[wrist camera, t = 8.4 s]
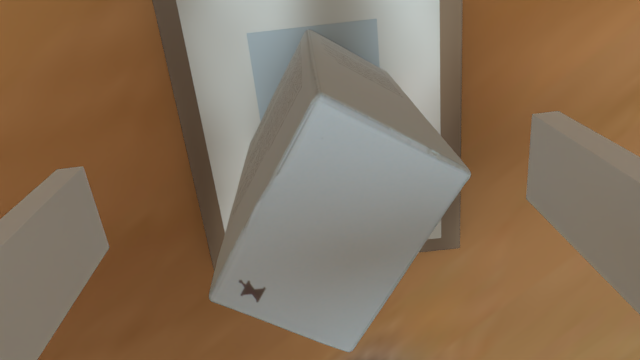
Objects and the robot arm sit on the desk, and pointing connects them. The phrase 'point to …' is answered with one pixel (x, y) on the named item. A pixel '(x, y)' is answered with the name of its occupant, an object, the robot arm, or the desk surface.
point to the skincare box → (333, 198)
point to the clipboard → (268, 69)
